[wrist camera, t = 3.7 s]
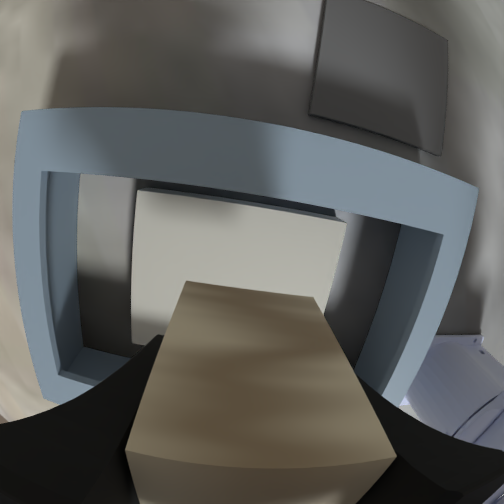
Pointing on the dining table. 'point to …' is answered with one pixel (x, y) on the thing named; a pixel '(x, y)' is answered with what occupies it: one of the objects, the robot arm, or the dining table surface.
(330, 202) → the box
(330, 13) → the mat
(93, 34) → the dining table surface
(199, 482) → the birch post
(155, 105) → the dining table surface
